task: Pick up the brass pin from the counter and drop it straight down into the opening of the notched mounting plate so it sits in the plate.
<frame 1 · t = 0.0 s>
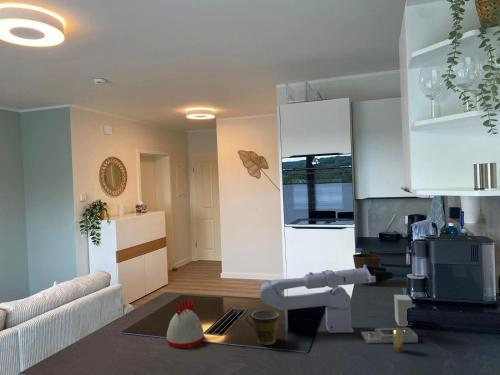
hand: (388, 272, 149), 22 cm above the worktop, tool horizontal, fingers open, 7 cm apart
ceramic cup: (262, 341, 140), on the worktop
plant pot: (367, 284, 214), on the worktop
notched mounting plate: (388, 338, 139), on the worktop
small box: (403, 323, 153), on the worktop
kitchen timer: (185, 340, 143), on the worktop
brass pin: (398, 350, 129), on the worktop
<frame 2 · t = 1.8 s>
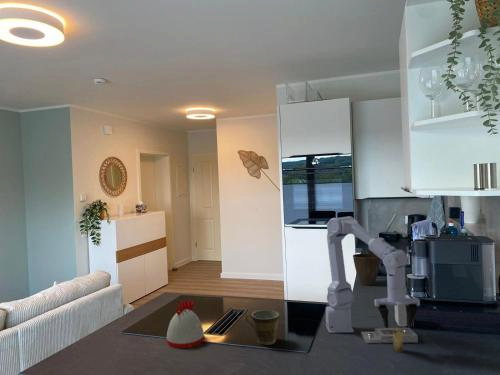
hand: (397, 326, 129), 8 cm above the worktop, tool pointing down, fingers open, 7 cm apart
nothing on the worktop moved.
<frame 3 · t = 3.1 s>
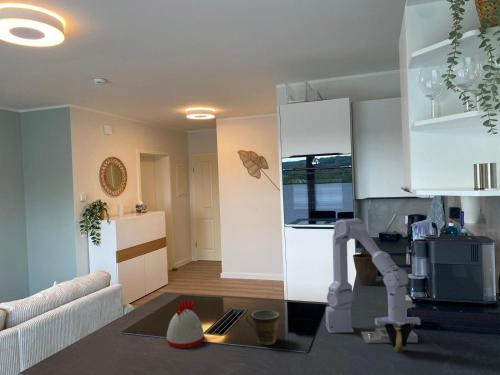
hand: (398, 345, 129), 2 cm above the worktop, tool pointing down, fingers closed on brass pin, 3 cm apart
brass pin: (398, 350, 129), on the worktop, touching gripper
everything else where it was.
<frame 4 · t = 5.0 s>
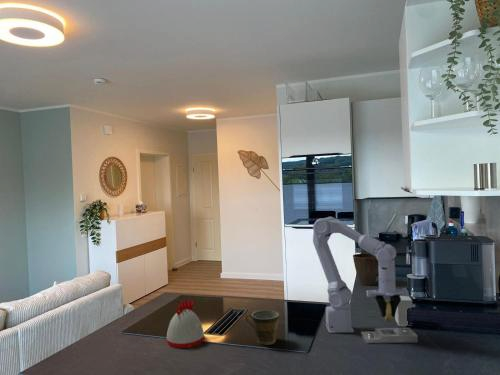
hand: (387, 315, 138), 8 cm above the worktop, tool pointing down, fingers closed on brass pin, 3 cm apart
brass pin: (388, 320, 138), point 7 cm above the worktop, touching gripper
everything else where it was.
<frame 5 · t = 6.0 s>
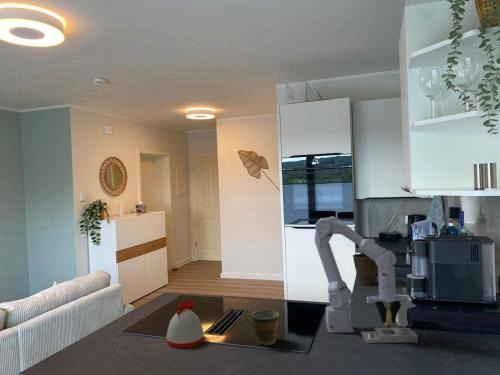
hand: (388, 322, 139), 6 cm above the worktop, tool pointing down, fingers closed on brass pin, 3 cm apart
brass pin: (388, 326, 139), point 4 cm above the worktop, touching gripper
everything else where it was.
when the fingers open (3 cm above the worktop, at t = 7.0 s): brass pin drops 1 cm, resting in notched mounting plate.
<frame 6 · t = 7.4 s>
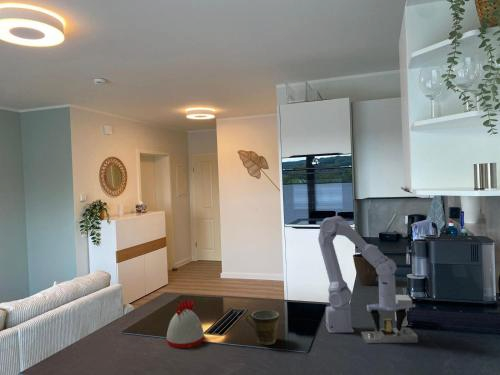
hand: (388, 330, 139), 3 cm above the worktop, tool pointing down, fingers open, 7 cm apart
brass pin: (388, 338, 139), resting in notched mounting plate
everything else where it was.
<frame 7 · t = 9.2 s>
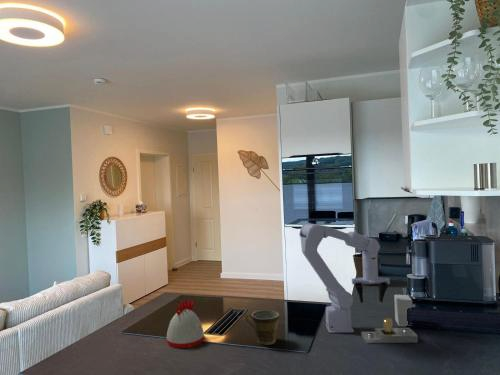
hand: (371, 301, 152), 9 cm above the worktop, tool pointing down, fingers open, 7 cm apart
nothing on the worktop moved.
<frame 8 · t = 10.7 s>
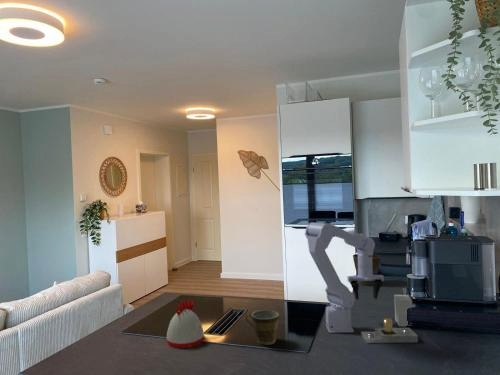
hand: (366, 298, 157), 9 cm above the worktop, tool pointing down, fingers open, 7 cm apart
nothing on the worktop moved.
at the end: brass pin 0.0 cm off-centre on the notched mounting plate, point 0.0 cm above the notched mounting plate's base; brass pin tilted 0°; the gripper is holding nothing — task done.
